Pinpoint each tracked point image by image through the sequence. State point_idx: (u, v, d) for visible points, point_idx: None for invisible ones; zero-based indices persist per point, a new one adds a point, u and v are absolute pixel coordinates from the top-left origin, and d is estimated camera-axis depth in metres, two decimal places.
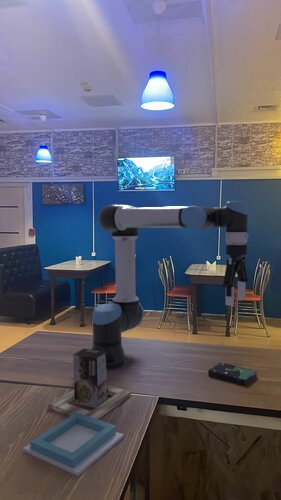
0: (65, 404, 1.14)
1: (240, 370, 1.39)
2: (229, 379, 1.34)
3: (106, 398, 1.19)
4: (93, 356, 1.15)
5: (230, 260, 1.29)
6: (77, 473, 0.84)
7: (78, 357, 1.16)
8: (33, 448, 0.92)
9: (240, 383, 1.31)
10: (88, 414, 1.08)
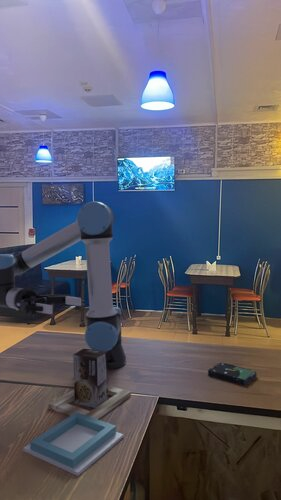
0: (65, 404, 1.14)
1: (240, 370, 1.39)
2: (229, 379, 1.34)
3: (106, 398, 1.19)
4: (93, 356, 1.15)
5: None
6: (77, 473, 0.84)
7: (78, 357, 1.16)
8: (33, 448, 0.92)
9: (239, 383, 1.31)
10: (88, 414, 1.08)
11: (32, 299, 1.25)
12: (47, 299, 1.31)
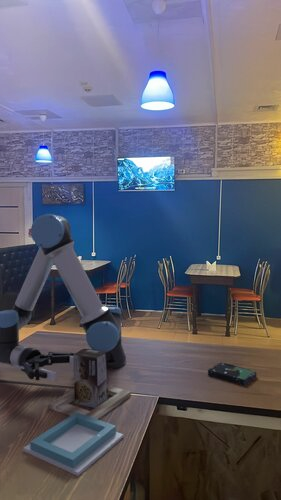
0: (65, 404, 1.14)
1: (240, 370, 1.39)
2: (228, 379, 1.34)
3: (106, 398, 1.19)
4: (93, 356, 1.15)
5: None
6: (77, 473, 0.84)
7: (78, 357, 1.16)
8: (33, 448, 0.92)
9: (239, 383, 1.31)
10: (88, 414, 1.08)
11: (36, 362, 1.25)
12: (51, 359, 1.31)
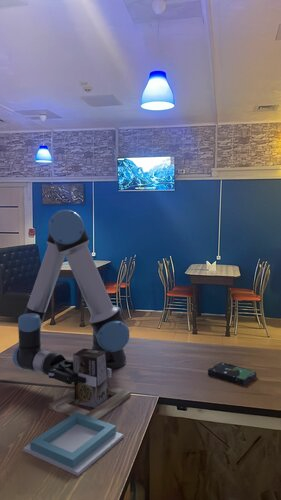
0: (65, 404, 1.14)
1: (240, 370, 1.39)
2: (228, 379, 1.34)
3: (106, 398, 1.19)
4: (92, 356, 1.15)
5: None
6: (77, 473, 0.84)
7: (78, 357, 1.16)
8: (33, 448, 0.92)
9: (239, 383, 1.31)
10: (88, 414, 1.08)
11: (66, 367, 1.20)
12: None
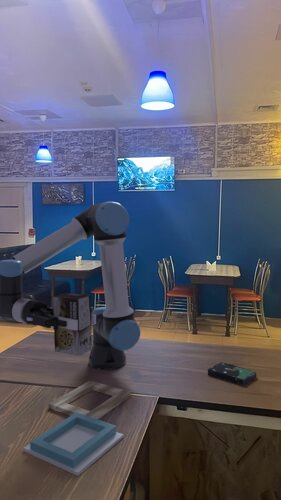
0: (65, 404, 1.14)
1: (240, 370, 1.39)
2: (228, 378, 1.34)
3: (89, 346, 1.07)
4: (74, 298, 1.03)
5: None
6: (77, 473, 0.84)
7: (59, 299, 1.05)
8: (33, 448, 0.92)
9: (238, 383, 1.31)
10: (88, 414, 1.08)
11: (46, 312, 1.09)
12: None
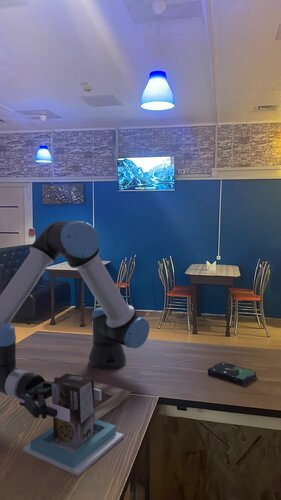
0: None
1: (240, 370, 1.39)
2: (227, 378, 1.34)
3: None
4: (75, 385, 0.92)
5: None
6: (77, 473, 0.84)
7: (58, 386, 0.93)
8: (33, 448, 0.92)
9: (238, 382, 1.32)
10: None
11: (40, 393, 0.97)
12: None
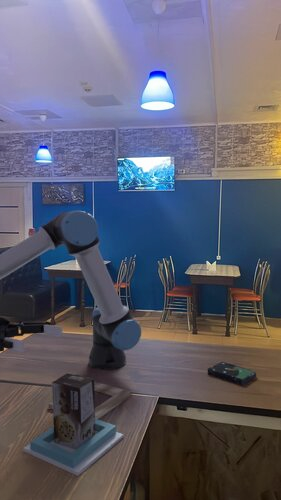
0: None
1: (240, 370, 1.39)
2: (227, 378, 1.35)
3: None
4: (75, 385, 0.92)
5: None
6: (77, 473, 0.84)
7: (58, 386, 0.93)
8: (33, 448, 0.92)
9: (237, 382, 1.32)
10: None
11: (2, 331, 1.02)
12: (22, 329, 1.08)
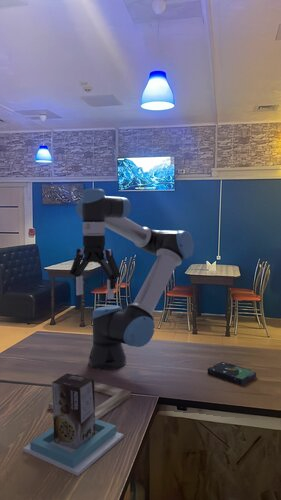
0: None
1: (240, 370, 1.39)
2: (227, 378, 1.35)
3: None
4: (75, 385, 0.92)
5: None
6: (77, 473, 0.84)
7: (58, 386, 0.93)
8: (33, 448, 0.92)
9: (237, 382, 1.32)
10: None
11: None
12: (88, 261, 1.29)
